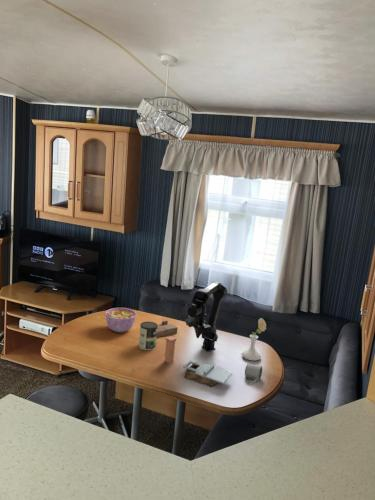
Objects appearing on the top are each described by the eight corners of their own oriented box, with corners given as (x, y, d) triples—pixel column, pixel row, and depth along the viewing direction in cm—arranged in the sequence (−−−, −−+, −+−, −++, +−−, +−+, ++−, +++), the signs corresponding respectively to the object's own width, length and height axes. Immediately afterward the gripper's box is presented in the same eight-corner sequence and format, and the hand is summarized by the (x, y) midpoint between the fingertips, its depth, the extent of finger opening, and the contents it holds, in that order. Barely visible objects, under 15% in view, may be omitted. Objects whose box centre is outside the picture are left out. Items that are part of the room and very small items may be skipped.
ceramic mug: (247, 372, 219) (248, 360, 217) (261, 377, 216) (263, 364, 214) (241, 381, 210) (243, 368, 208) (256, 386, 206) (258, 373, 205)
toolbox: (184, 377, 208) (185, 370, 207) (194, 367, 219) (195, 361, 218) (212, 387, 201) (212, 380, 200) (221, 377, 212) (221, 370, 211)
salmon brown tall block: (168, 358, 226) (170, 336, 223) (174, 361, 224) (176, 338, 221) (163, 361, 223) (165, 337, 220) (168, 363, 220) (171, 340, 218)
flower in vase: (248, 363, 230) (254, 323, 224) (237, 354, 239) (242, 315, 234) (266, 360, 236) (272, 321, 230) (255, 351, 245) (260, 313, 240)
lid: (181, 369, 208) (181, 365, 208) (191, 360, 219) (192, 356, 218) (223, 384, 198) (224, 379, 197) (232, 374, 208) (232, 370, 208)
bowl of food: (110, 322, 269) (111, 305, 267) (138, 326, 267) (139, 310, 265) (99, 333, 250) (100, 316, 248) (130, 338, 248) (131, 321, 245)
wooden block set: (179, 325, 261) (156, 330, 250) (178, 333, 263) (155, 338, 252) (164, 316, 274) (142, 320, 263) (163, 324, 275) (141, 328, 264)
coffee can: (157, 344, 243) (159, 322, 240) (153, 351, 233) (154, 329, 230) (141, 341, 245) (143, 320, 242) (136, 348, 235) (138, 326, 232)
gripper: (179, 308, 227) (177, 333, 230) (197, 320, 212) (194, 347, 215) (195, 305, 233) (193, 330, 236) (214, 317, 218) (211, 343, 221)
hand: (197, 337), depth 227 cm, fingers closed
